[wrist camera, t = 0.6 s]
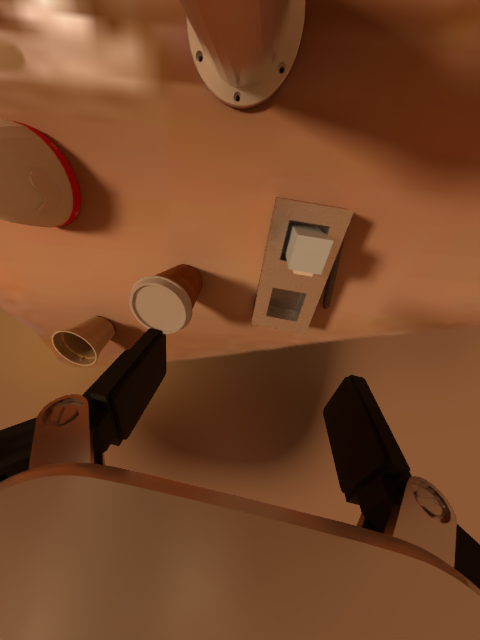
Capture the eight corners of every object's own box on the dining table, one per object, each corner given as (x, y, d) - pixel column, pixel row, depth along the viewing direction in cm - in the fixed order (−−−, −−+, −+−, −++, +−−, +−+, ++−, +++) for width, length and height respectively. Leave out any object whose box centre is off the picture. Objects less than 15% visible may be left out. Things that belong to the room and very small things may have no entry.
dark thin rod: (339, 220, 31) (341, 221, 30) (346, 220, 31) (348, 221, 30) (322, 307, 39) (323, 309, 38) (327, 307, 39) (328, 309, 38)
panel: (276, 197, 30) (276, 197, 26) (342, 207, 30) (354, 210, 26) (253, 310, 41) (251, 324, 37) (302, 319, 41) (305, 334, 37)
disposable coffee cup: (210, 304, 42) (191, 340, 32) (166, 298, 43) (133, 331, 33) (210, 258, 37) (187, 283, 27) (159, 252, 37) (118, 275, 27)
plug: (291, 222, 31) (298, 234, 23) (317, 227, 31) (333, 240, 23) (283, 253, 34) (287, 273, 25) (307, 257, 33) (319, 279, 25)
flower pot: (84, 302, 46) (49, 323, 39) (124, 320, 47) (97, 343, 40) (83, 331, 51) (52, 354, 44) (119, 346, 52) (95, 371, 45)
